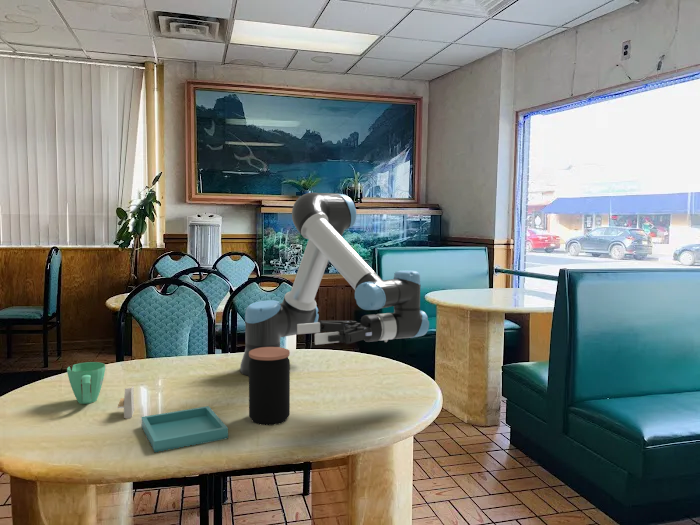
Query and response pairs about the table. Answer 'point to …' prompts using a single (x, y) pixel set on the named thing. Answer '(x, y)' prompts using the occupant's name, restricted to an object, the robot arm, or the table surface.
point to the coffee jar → (269, 385)
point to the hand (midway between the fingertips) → (305, 334)
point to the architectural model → (127, 402)
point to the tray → (183, 428)
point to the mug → (86, 380)
